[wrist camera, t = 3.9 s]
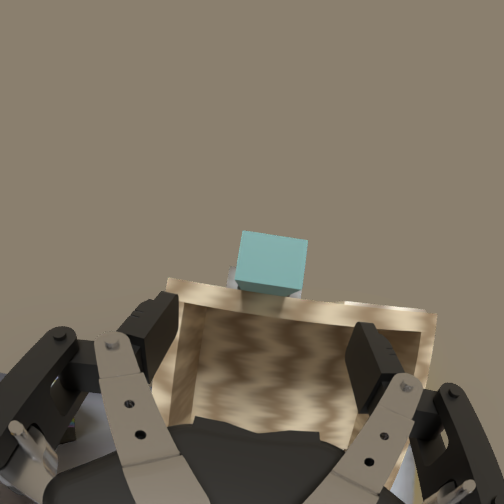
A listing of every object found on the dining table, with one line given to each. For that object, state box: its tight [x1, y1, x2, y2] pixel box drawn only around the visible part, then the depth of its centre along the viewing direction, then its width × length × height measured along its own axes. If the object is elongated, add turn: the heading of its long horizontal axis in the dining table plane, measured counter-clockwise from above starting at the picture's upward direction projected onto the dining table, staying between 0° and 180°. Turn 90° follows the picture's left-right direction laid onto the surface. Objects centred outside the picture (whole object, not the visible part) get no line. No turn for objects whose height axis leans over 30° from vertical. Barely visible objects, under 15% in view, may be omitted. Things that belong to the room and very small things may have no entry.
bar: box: [234, 231, 308, 297], centre depth 27 cm, size 4×22×3 cm, turn 0°
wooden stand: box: [152, 266, 437, 491], centre depth 29 cm, size 28×14×34 cm, turn 90°
